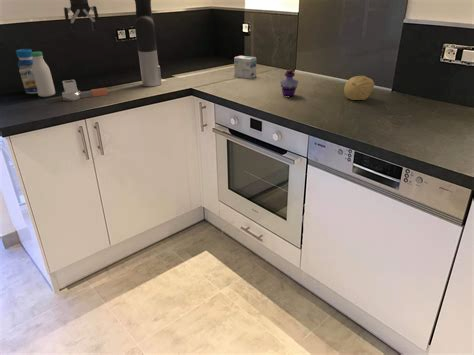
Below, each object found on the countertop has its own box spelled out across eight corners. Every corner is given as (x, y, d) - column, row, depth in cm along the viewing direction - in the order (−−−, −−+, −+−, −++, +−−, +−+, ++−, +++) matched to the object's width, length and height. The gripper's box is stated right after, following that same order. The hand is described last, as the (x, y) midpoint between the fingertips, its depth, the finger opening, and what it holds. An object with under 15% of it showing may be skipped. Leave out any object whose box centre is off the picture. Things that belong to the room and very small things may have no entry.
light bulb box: (256, 76, 213) (256, 57, 208) (250, 79, 208) (250, 59, 203) (240, 74, 218) (240, 55, 213) (234, 76, 213) (233, 57, 208)
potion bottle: (287, 91, 186) (288, 67, 180) (301, 95, 180) (303, 70, 175) (275, 95, 181) (276, 70, 175) (289, 99, 175) (291, 73, 169)
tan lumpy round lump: (356, 104, 168) (359, 80, 163) (338, 97, 177) (341, 74, 172) (375, 100, 173) (379, 77, 167) (356, 94, 182) (360, 71, 177)
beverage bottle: (47, 90, 191) (37, 49, 182) (33, 94, 185) (22, 52, 175) (35, 88, 194) (25, 47, 185) (21, 92, 188) (9, 50, 178)
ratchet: (105, 91, 188) (103, 78, 185) (109, 95, 182) (106, 82, 179) (62, 97, 180) (59, 83, 177) (64, 102, 174) (61, 88, 171)
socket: (76, 90, 180) (74, 79, 178) (78, 92, 176) (75, 82, 174) (64, 91, 178) (62, 81, 176) (66, 94, 174) (63, 83, 172)
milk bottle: (59, 93, 187) (49, 51, 177) (47, 97, 180) (36, 54, 171) (46, 91, 189) (36, 50, 179) (34, 96, 183) (23, 53, 173)
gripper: (92, -9, 174) (98, 29, 182) (59, -8, 169) (67, 31, 176) (95, -8, 169) (101, 31, 176) (61, -7, 163) (69, 33, 171)
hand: (84, 31), depth 176 cm, fingers open, 8 cm apart
